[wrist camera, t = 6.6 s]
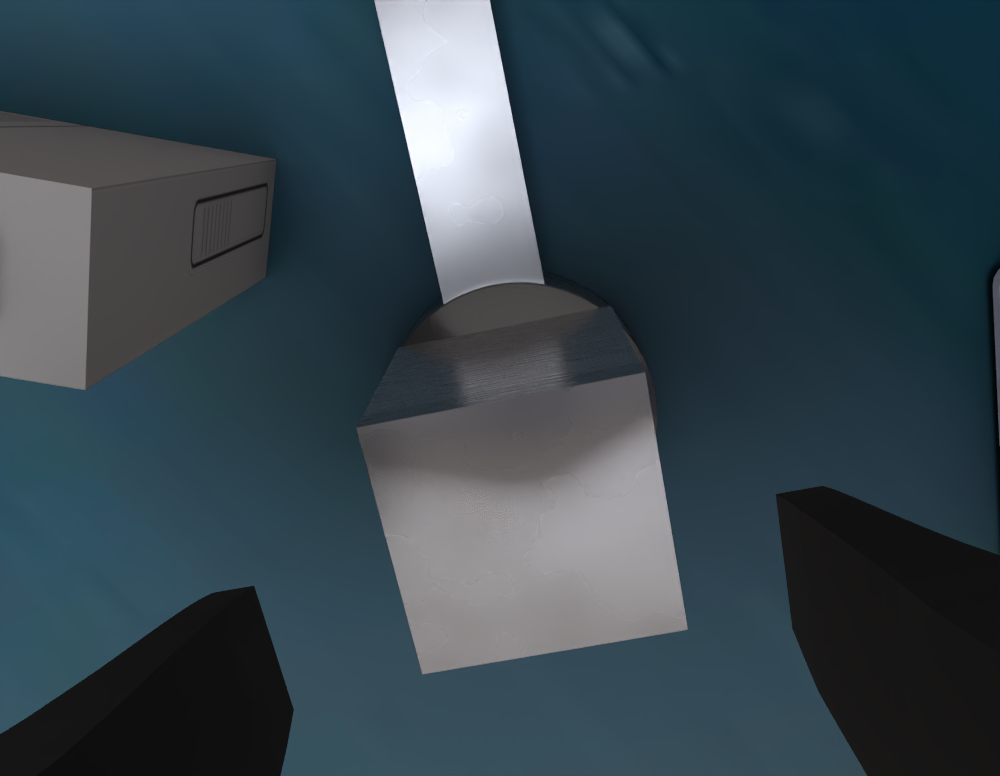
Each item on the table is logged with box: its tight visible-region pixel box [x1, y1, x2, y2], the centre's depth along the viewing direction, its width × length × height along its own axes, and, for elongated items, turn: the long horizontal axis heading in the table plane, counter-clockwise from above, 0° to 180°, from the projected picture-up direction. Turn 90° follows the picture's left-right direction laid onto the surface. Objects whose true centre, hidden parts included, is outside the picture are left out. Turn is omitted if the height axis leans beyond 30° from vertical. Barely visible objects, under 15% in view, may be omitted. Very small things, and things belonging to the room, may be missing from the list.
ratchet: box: [374, 0, 658, 435], centre depth 17 cm, size 20×6×4 cm, turn 12°
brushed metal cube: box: [356, 306, 688, 674], centre depth 17 cm, size 5×5×5 cm
